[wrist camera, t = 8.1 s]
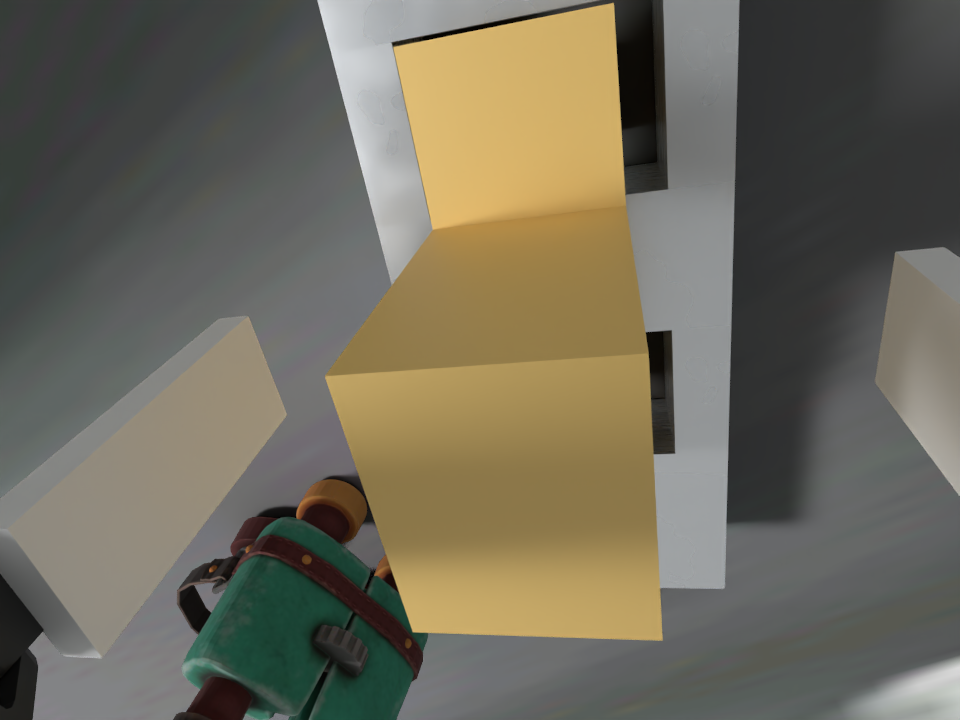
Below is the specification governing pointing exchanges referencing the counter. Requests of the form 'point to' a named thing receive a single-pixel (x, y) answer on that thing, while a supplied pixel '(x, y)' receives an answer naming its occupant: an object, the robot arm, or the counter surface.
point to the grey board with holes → (651, 215)
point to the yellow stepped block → (513, 349)
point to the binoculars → (300, 621)
